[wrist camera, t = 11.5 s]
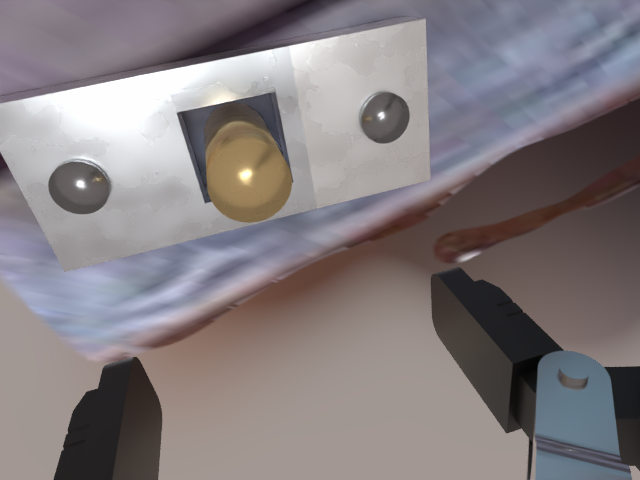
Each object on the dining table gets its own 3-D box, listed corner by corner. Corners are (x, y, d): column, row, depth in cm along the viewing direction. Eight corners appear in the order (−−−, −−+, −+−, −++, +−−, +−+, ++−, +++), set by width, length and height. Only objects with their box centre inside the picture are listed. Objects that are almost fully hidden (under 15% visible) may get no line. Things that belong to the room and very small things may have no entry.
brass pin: (259, 97, 29) (283, 134, 21) (272, 157, 31) (298, 211, 23) (196, 110, 28) (196, 153, 20) (213, 170, 30) (219, 231, 22)
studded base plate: (404, 16, 28) (430, 19, 25) (412, 165, 33) (434, 183, 30) (-1, 96, 25) (-28, 111, 22) (75, 248, 30) (62, 277, 27)
